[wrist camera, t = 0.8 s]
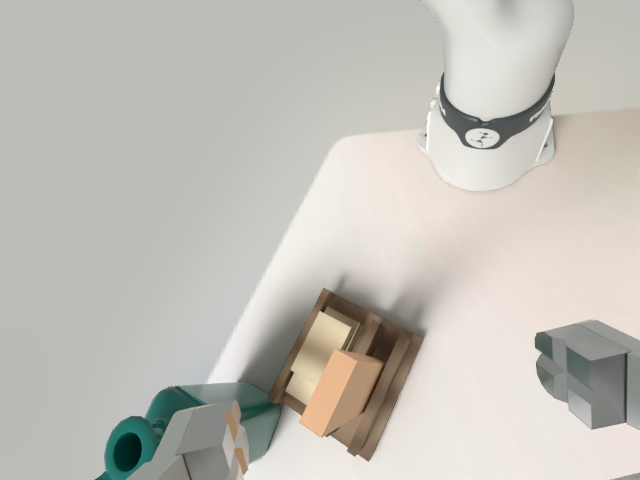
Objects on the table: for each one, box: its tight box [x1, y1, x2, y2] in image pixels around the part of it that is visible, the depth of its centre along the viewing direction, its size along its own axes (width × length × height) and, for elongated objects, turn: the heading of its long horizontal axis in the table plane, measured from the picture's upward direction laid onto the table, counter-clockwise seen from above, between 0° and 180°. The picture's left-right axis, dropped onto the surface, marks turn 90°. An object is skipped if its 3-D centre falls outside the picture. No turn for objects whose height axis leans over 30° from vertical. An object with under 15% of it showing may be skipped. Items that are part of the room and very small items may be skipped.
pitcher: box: [95, 382, 280, 480], centre depth 39 cm, size 10×8×22 cm
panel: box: [299, 349, 386, 438], centre depth 35 cm, size 6×2×20 cm, turn 151°
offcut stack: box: [285, 306, 364, 405], centre depth 45 cm, size 12×5×5 cm, turn 151°
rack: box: [267, 288, 423, 462], centre depth 44 cm, size 16×14×6 cm
